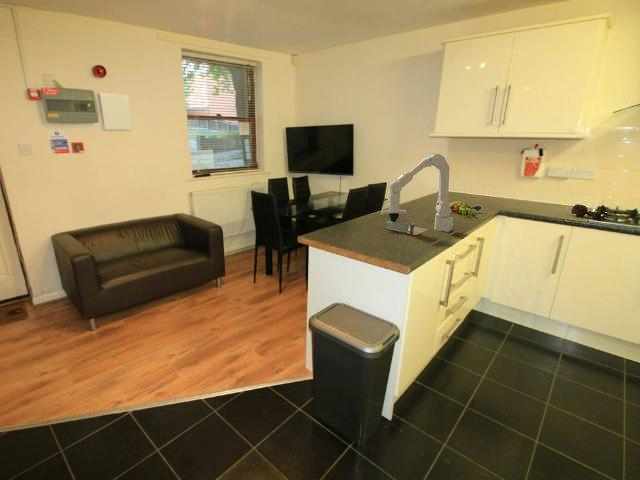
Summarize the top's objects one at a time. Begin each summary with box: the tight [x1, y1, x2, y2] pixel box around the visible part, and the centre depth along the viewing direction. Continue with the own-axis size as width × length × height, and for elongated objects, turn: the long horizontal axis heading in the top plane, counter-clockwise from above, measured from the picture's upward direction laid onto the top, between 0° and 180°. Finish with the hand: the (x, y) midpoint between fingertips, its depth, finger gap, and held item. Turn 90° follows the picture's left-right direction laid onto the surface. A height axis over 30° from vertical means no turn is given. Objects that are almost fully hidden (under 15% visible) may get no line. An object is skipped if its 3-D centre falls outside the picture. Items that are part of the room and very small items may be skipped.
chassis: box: [388, 225, 429, 236], centre depth 193 cm, size 18×15×5 cm
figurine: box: [570, 203, 606, 222], centre depth 224 cm, size 10×8×18 cm
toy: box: [449, 200, 482, 218], centre depth 239 cm, size 24×28×8 cm
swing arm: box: [385, 220, 417, 231], centre depth 189 cm, size 16×4×4 cm, turn 58°
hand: (393, 226), depth 195 cm, fingers closed
